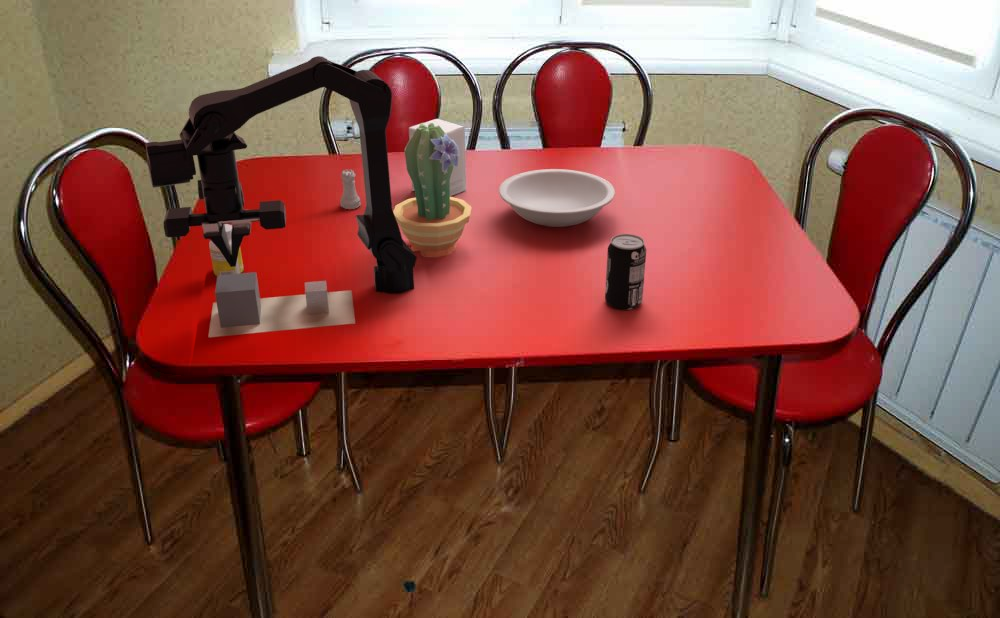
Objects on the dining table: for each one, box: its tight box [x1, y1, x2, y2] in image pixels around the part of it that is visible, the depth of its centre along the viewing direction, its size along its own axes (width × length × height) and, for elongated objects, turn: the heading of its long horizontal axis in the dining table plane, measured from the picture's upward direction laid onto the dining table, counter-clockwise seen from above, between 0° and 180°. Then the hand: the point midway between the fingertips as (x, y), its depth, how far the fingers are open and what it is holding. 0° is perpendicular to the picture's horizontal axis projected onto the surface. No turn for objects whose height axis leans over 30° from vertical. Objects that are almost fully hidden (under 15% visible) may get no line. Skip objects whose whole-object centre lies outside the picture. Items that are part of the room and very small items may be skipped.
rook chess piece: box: [339, 169, 362, 210], centre depth 206 cm, size 4×4×8 cm
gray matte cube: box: [214, 271, 261, 328], centre depth 162 cm, size 6×6×7 cm
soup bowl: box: [498, 168, 616, 228], centre depth 200 cm, size 24×24×7 cm
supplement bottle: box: [208, 223, 245, 277], centre depth 177 cm, size 5×5×10 cm
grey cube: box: [304, 280, 329, 315], centre depth 165 cm, size 4×4×4 cm
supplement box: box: [408, 118, 467, 197], centre depth 212 cm, size 9×9×15 cm
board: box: [208, 290, 356, 338], centre depth 165 cm, size 24×12×1 cm, turn 101°
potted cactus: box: [393, 123, 472, 258], centre depth 184 cm, size 15×15×25 cm
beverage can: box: [604, 233, 647, 311], centre depth 167 cm, size 7×7×12 cm
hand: (233, 265), depth 159 cm, fingers closed
